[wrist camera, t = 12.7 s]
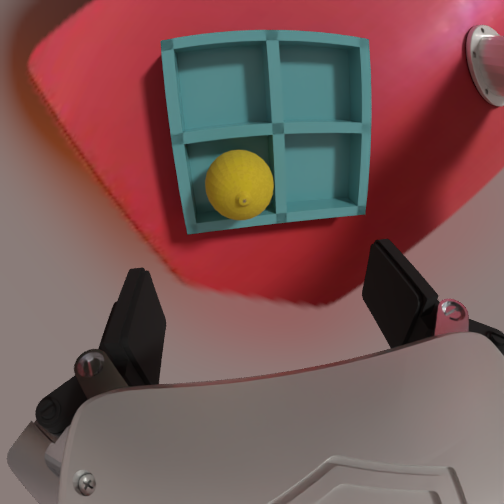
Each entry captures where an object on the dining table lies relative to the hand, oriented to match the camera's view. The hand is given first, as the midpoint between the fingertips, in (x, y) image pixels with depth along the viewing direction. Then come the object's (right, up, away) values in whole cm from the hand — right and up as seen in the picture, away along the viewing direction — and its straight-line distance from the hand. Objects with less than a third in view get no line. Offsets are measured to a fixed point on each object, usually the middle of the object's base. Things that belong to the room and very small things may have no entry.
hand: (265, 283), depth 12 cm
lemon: (-2, +9, +15) cm, 18 cm away
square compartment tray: (+1, +13, +14) cm, 19 cm away
